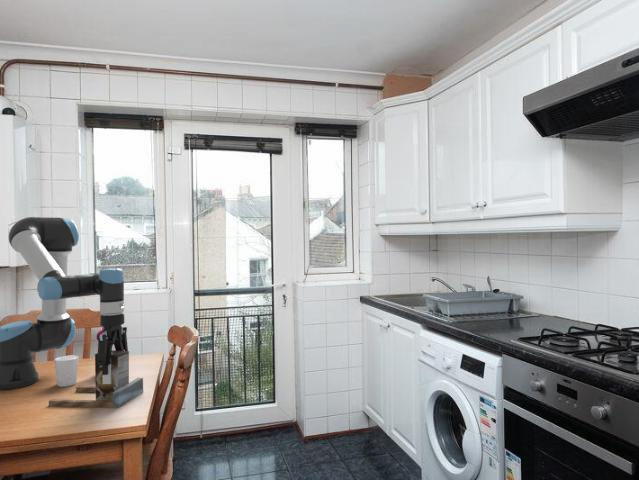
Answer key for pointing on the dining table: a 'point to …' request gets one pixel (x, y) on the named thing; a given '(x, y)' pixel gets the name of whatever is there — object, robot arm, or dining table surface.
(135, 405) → the dining table surface
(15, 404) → the dining table surface
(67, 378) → the white cup
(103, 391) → the coffee box
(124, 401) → the guide channel
